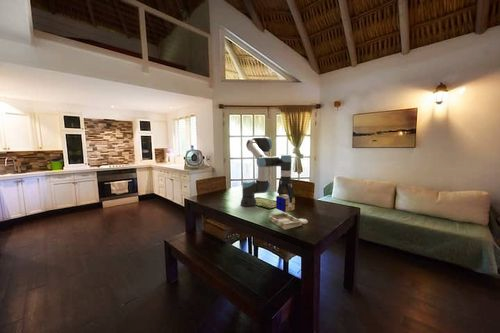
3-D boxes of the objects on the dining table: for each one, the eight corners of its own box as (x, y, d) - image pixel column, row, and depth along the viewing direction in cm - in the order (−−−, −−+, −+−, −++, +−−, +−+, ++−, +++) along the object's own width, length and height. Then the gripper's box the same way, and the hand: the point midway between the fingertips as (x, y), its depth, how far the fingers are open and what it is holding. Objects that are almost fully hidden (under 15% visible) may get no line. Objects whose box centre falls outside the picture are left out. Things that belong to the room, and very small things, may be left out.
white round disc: (294, 220, 162) (294, 219, 162) (302, 218, 165) (302, 218, 165) (301, 224, 155) (301, 223, 155) (310, 222, 158) (310, 221, 158)
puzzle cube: (275, 208, 158) (275, 195, 157) (285, 206, 164) (285, 194, 163) (285, 212, 150) (285, 199, 149) (294, 209, 156) (295, 196, 155)
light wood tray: (268, 219, 164) (268, 215, 164) (284, 216, 171) (284, 212, 171) (284, 229, 146) (284, 225, 146) (301, 225, 153) (301, 221, 153)
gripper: (272, 173, 162) (272, 201, 165) (291, 178, 142) (290, 210, 145) (280, 173, 166) (280, 200, 169) (300, 177, 145) (299, 208, 148)
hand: (285, 204), depth 157 cm, fingers closed on puzzle cube, 10 cm apart
